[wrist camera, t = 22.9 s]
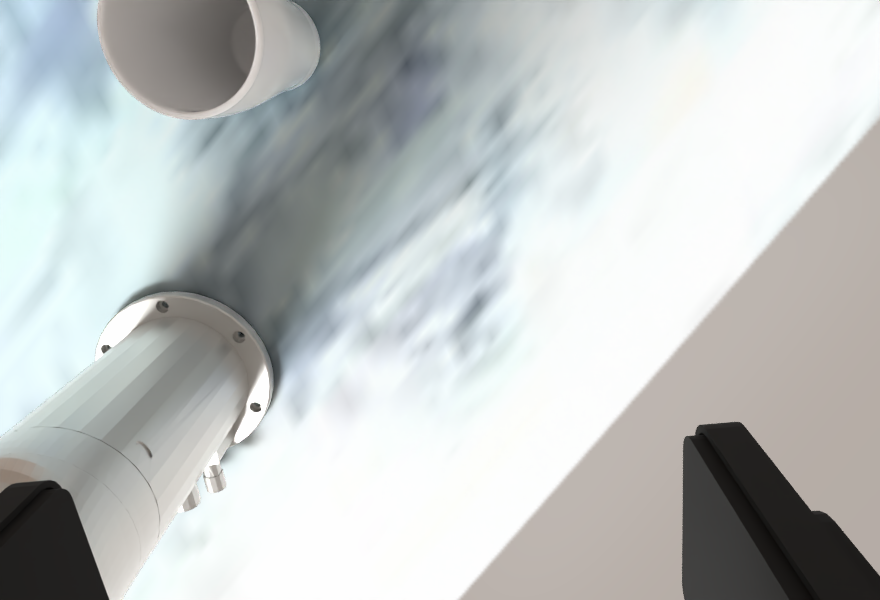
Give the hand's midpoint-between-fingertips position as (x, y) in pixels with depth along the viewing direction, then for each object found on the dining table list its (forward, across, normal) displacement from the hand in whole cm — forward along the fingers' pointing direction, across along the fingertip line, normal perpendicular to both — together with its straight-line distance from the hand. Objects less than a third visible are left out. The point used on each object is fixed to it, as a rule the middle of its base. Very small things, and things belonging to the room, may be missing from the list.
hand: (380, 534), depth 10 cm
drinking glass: (+34, +9, -9) cm, 37 cm away
